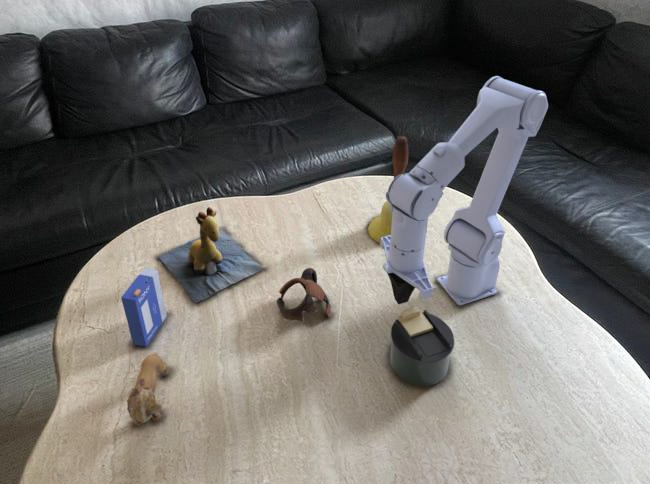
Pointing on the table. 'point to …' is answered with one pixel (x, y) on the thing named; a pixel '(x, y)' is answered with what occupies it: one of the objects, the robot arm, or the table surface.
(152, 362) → the lion figurine
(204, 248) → the stuffed giraffe
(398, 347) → the canister
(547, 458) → the table surface
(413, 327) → the slider
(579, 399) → the table surface
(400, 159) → the handbell
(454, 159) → the robot arm
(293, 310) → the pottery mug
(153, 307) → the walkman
